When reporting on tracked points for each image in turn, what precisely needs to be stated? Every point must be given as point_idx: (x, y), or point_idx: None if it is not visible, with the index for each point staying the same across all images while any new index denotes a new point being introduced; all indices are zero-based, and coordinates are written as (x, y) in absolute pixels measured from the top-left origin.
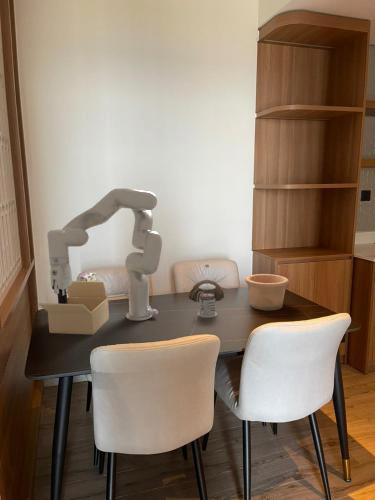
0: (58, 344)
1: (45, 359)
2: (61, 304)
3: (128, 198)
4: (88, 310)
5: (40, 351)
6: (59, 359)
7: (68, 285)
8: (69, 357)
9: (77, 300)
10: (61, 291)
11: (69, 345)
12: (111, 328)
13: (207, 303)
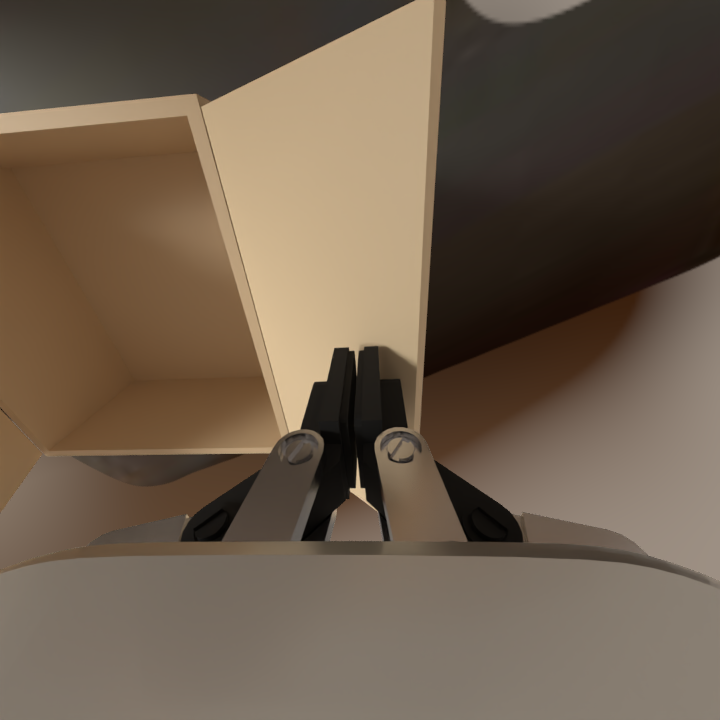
0: (431, 277)
1: (602, 249)
2: (420, 375)
3: None
4: (249, 88)
5: (506, 317)
6: (623, 171)
7: (279, 599)
8: (610, 118)
9: (27, 397)
10: (477, 523)
11: (441, 212)
12: (129, 32)
13: None
